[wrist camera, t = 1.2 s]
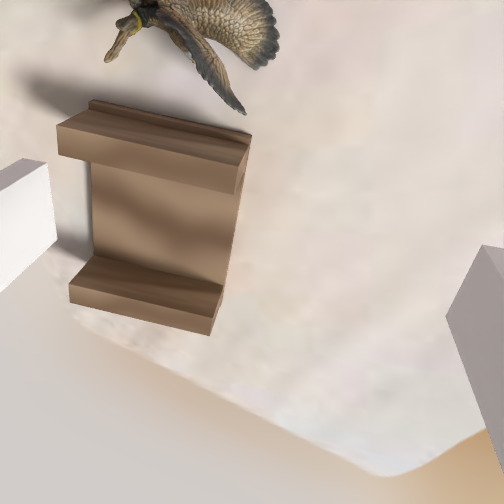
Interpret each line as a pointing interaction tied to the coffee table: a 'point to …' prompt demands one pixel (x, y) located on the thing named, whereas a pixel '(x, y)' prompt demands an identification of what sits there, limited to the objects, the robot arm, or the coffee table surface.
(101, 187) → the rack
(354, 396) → the coffee table surface
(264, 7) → the eagle figurine
